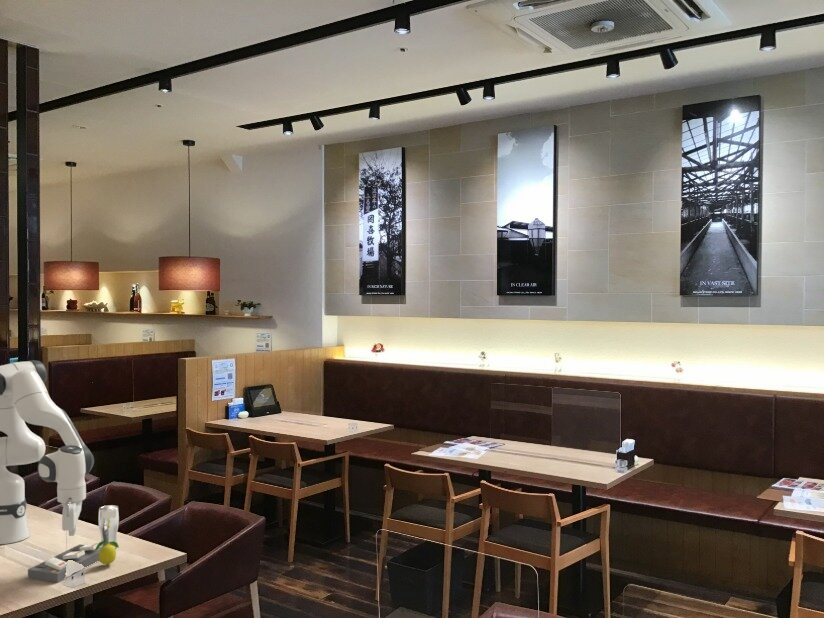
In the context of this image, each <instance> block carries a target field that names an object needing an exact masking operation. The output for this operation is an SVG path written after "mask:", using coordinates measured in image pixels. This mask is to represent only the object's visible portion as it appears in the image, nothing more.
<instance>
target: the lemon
mask: <svg viewBox="0 0 824 618" xmlns="http://www.w3.org/2000/svg"><path fill="white" fill-rule="evenodd" d="M104 542H105V541H101V540H100V541H99V542H98V543H99V544H98V545H97V547H96V549H95V550H97V549H98V548H99V547H100V546H101V545H102V544H103V543H104ZM109 543H110V544H108V537H107V544H106V545H104V546H103V547H102V548H101V549H100V552H99V561H98V562H100V563H101V564H102V565H105V566H107V565H108V566H109V565H110V564H112V563H114V561H115V560H116V556H117V550H116V549H119V544H118V542H117V543H116V542H114V541H113V542H109ZM112 545H113V546H112ZM114 546H115V547H117V548H116V549H115V548H114Z"/></svg>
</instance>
